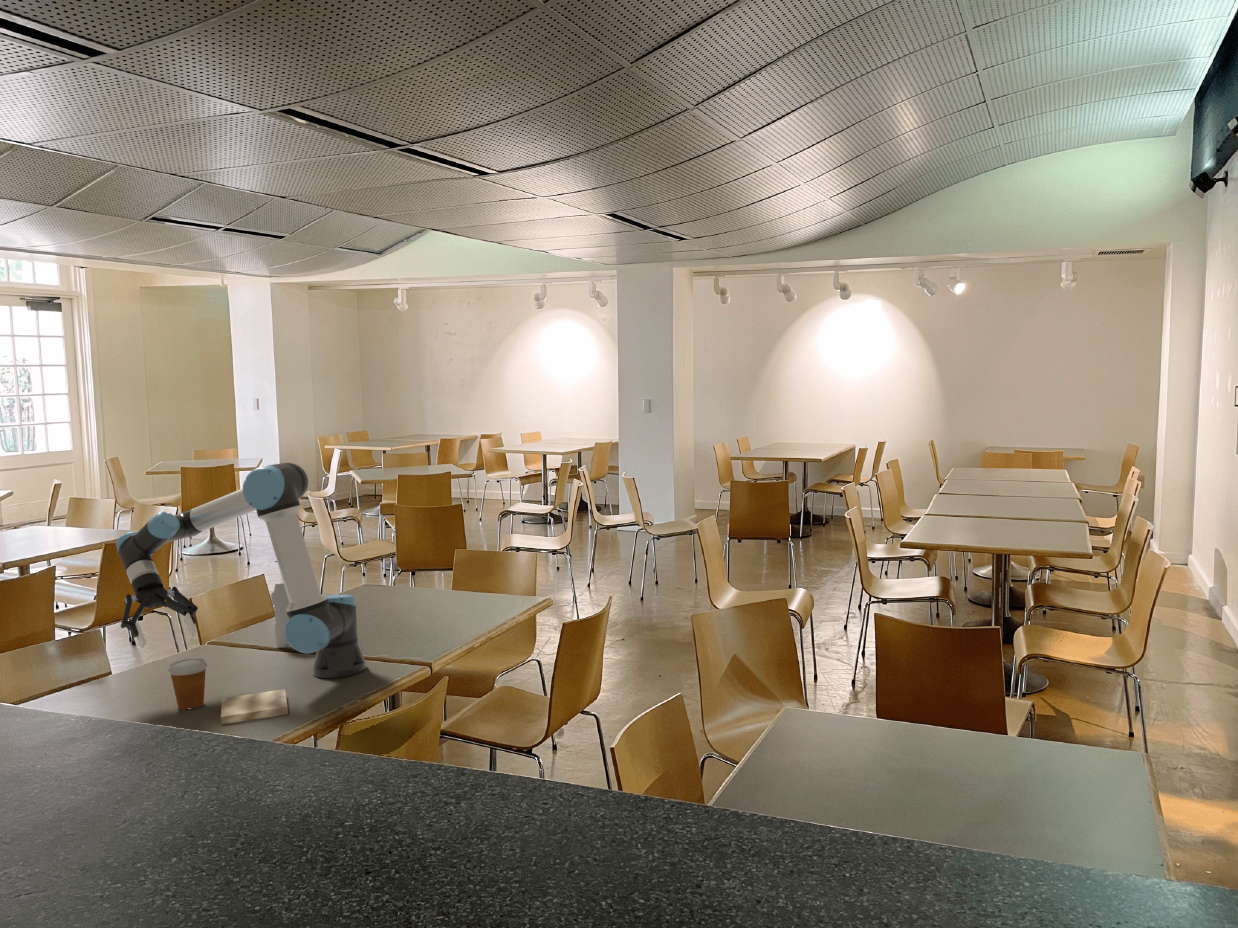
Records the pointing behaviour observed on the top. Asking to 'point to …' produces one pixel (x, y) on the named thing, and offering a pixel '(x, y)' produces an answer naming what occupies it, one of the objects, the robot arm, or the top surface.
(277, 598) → the tall pale column
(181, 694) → the disposable coffee cup
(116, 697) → the top surface
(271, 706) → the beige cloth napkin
